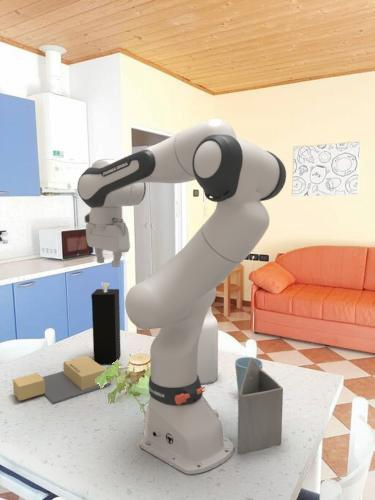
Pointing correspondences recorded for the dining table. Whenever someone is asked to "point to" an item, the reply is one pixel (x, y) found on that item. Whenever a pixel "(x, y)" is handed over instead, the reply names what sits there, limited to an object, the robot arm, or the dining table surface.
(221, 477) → the dining table surface
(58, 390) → the tan block on base
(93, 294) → the black square bottle
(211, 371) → the alcohol
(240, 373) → the cup
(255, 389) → the planter
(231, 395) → the dining table surface
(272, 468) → the dining table surface
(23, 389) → the small cardboard box
